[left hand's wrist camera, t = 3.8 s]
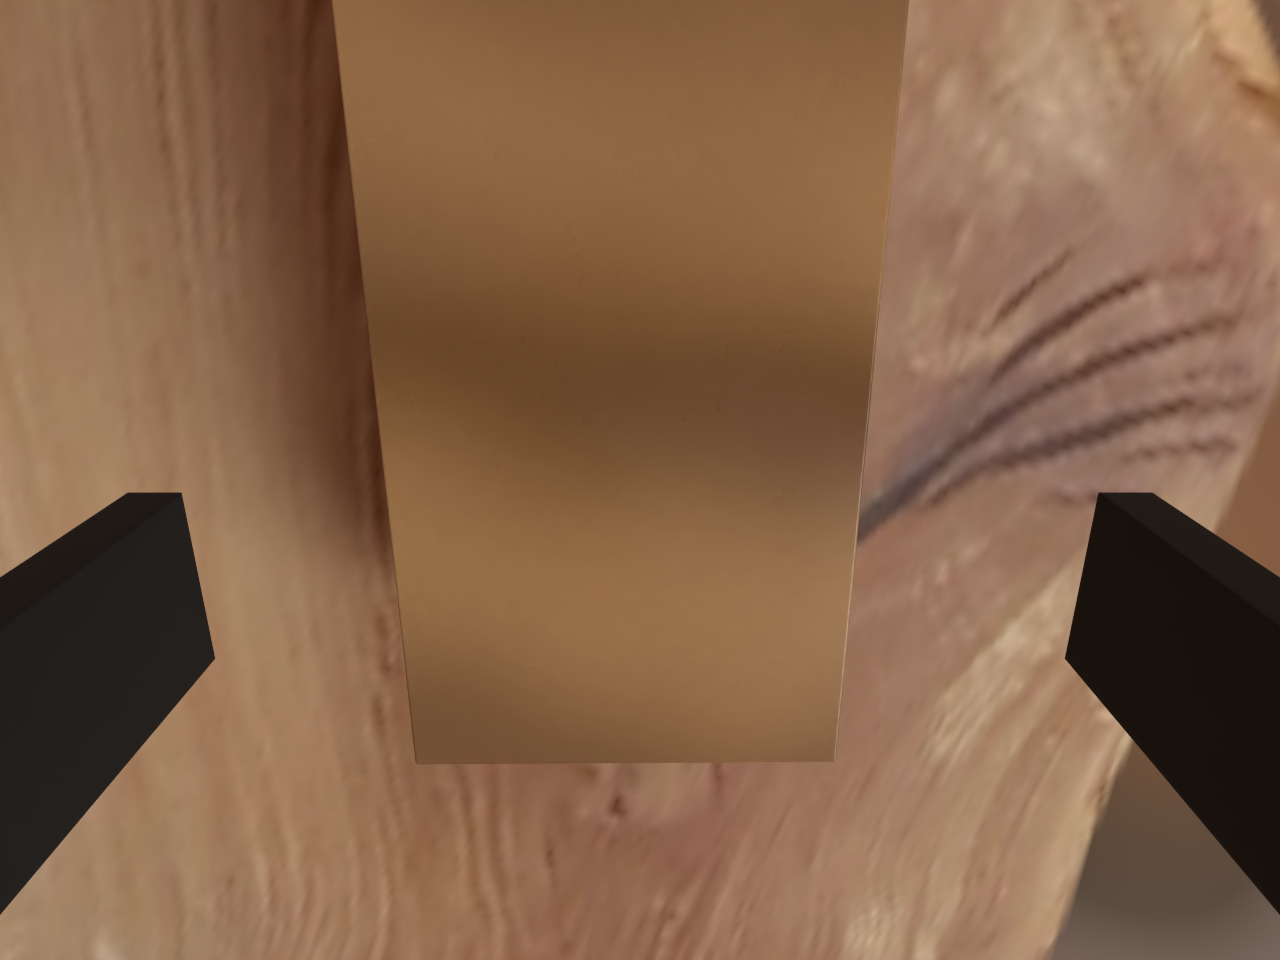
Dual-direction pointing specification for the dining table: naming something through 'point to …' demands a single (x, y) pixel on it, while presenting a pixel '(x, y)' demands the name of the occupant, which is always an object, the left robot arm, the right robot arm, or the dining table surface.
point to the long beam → (622, 361)
